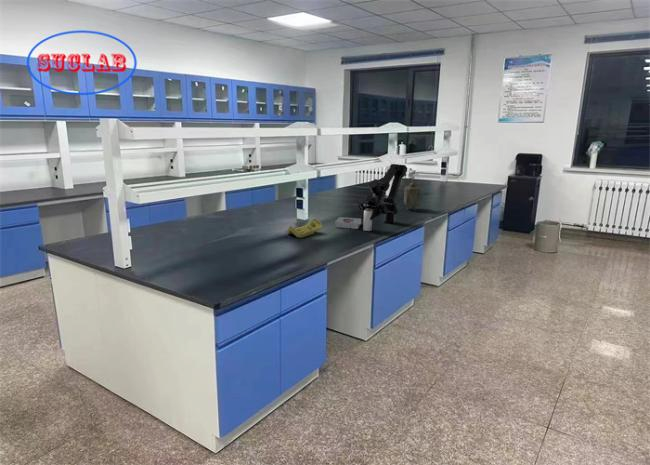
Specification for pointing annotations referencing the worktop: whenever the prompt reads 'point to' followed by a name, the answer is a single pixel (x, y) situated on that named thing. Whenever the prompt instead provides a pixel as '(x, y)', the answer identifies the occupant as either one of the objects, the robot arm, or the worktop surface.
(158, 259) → the worktop surface
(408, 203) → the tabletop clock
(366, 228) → the plug
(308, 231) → the plastic component
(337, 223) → the socket box
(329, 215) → the worktop surface
